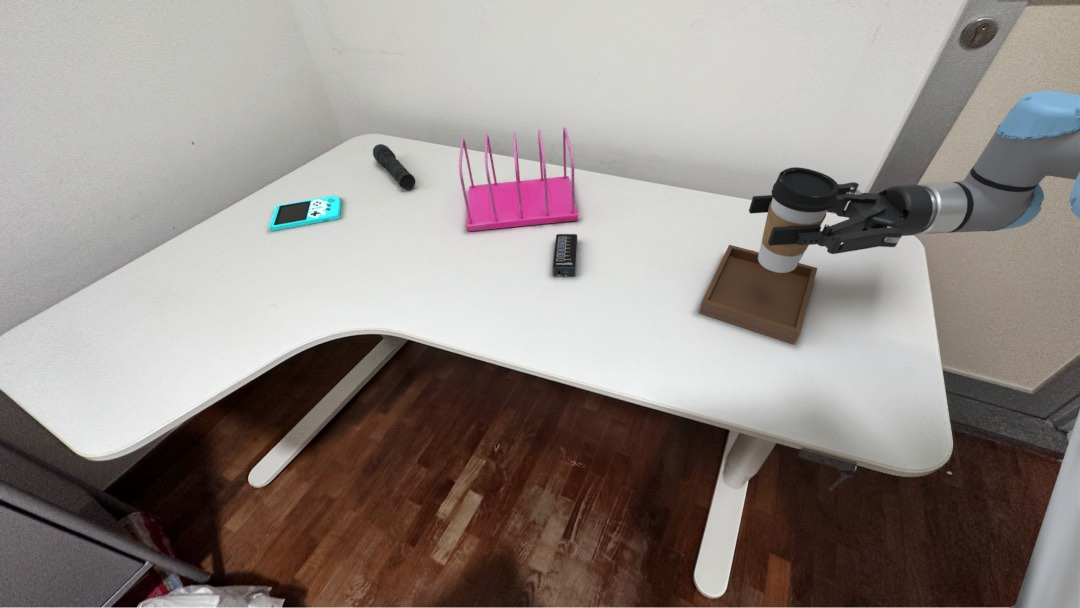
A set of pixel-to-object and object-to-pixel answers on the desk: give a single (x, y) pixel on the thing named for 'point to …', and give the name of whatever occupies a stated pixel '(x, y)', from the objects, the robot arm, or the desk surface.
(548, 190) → the file sorter
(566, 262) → the multiport hub
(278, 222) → the handheld game console
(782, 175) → the coffee cup
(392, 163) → the flashlight
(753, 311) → the tray
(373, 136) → the desk surface
